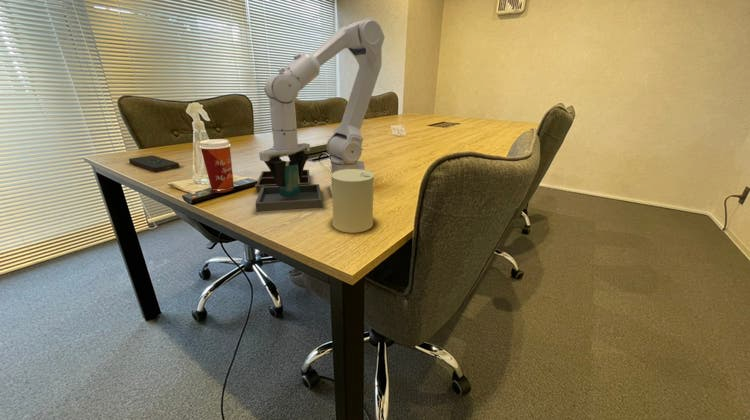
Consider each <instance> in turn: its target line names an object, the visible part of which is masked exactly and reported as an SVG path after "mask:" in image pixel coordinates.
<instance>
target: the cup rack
mask: <svg viewBox="0 0 750 420" xmlns="http://www.w3.org/2000/svg"><path fill="white" fill-rule="evenodd" d="M299 183H300V185H311V175H310V170H309V169H303V172H302V178H301V181H300V182H299ZM267 186H277V185H276V182H275V179H274V177H273V175H272V173H271V171H270V170H262V171H261V172H260V175H259V178H258V179H257V182H256V185H255V189H256V193H257V194H259V193H260V190H261V187H267Z"/></svg>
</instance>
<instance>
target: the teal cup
mask: <svg viewBox="0 0 750 420" xmlns="http://www.w3.org/2000/svg"><path fill="white" fill-rule="evenodd" d="M285 161H286V165H285V171H284V178H285V185H284V187H279V193H280V195H281V196H283V197H294V196H297V195H299V194H300V183H299V169H298V163H297V162H294V161H290V160H285Z"/></svg>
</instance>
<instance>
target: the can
mask: <svg viewBox="0 0 750 420" xmlns="http://www.w3.org/2000/svg"><path fill="white" fill-rule="evenodd" d="M330 177H331V186H332V194H331V197H332V223H331V224H332V226H333V228H334V229H335V230H337V231H339V232H342V233H348V234H350V233H351V234H356V233H362V232H367V231H369V230H370V229H371V228H372V227H373V226H374V219H373V217H374V214H373V213H374V212H373V211H374V181H375V173H373V172H372V171H369V170H366V169H365V170H360V169H344V170H339V171H335V172H333V173H332V172H331V174H330Z"/></svg>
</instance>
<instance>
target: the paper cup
mask: <svg viewBox="0 0 750 420" xmlns="http://www.w3.org/2000/svg"><path fill="white" fill-rule="evenodd" d="M231 146H232V145H231V143H230V141H229V140H228V139H225V138H223V139H222V138H213V139H204V140H201V141H200V142H199V145H198V148H199V149H200V150H201V155H202V158H203V162H204V165H205V170H206V173H207V178H208V181H209V184H210V188H211V191H212V193H215V194H217V193H218V194H221V193H228V192H231V191H233V190H234V189H235V186H234V185H235V184H234V183H235V182H234V175H233V165H232V164H233V163H232V154H231ZM233 186H234V187H233ZM231 187H233V188H231ZM228 188H231V189H228ZM212 189H228V190H221V191H217V190H212Z"/></svg>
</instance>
